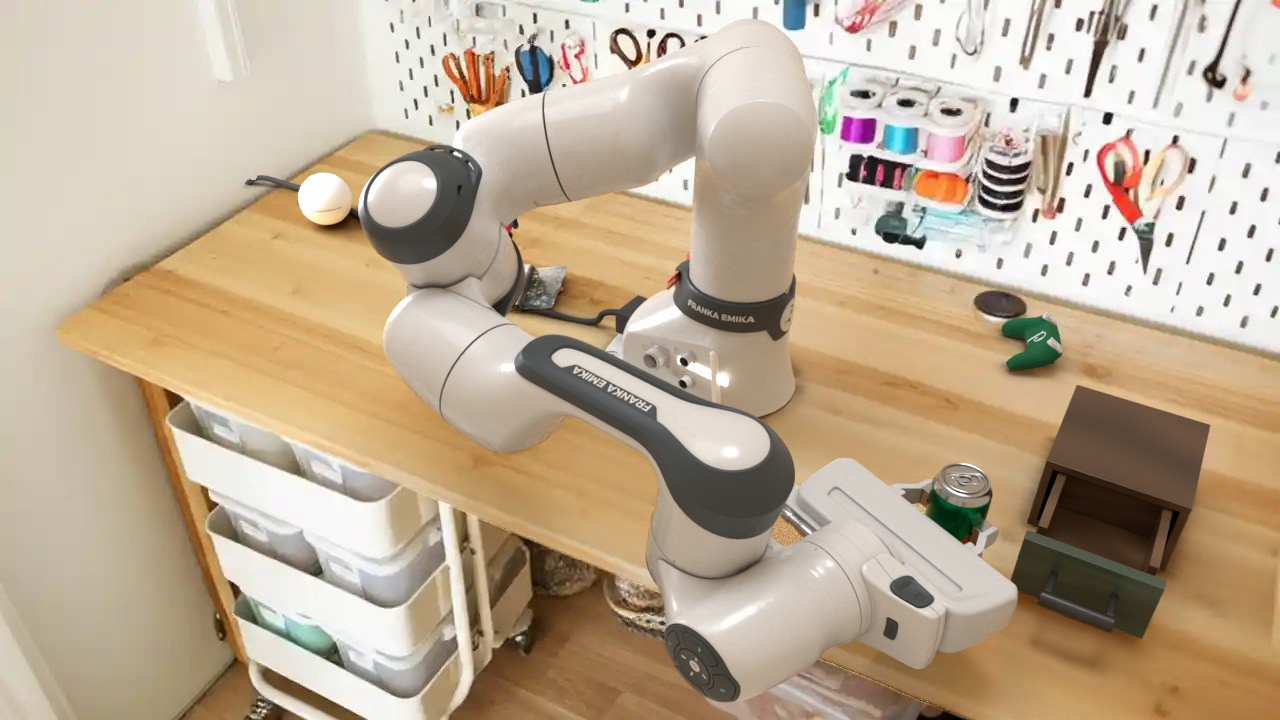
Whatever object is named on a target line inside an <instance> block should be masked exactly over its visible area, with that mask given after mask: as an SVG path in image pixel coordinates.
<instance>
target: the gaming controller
mask: <svg viewBox="0 0 1280 720" xmlns="http://www.w3.org/2000/svg"><path fill="white" fill-rule="evenodd" d="M1001 332H1002V334H1003V335H1004V336H1007V337H1009V338H1020V339H1024V342H1025V347H1026V350H1024V351H1021V352H1019V353H1016V354H1014V355H1013V356H1011V357H1010V358H1008V359H1007V360H1006V361H1005V365H1006V368H1007V369H1008V371H1012V372H1024V371H1032V370H1036V369H1040V368H1043V367H1044V368H1045V367H1047V366H1049V365H1053V364H1055V363H1056V361H1057V360H1059V358H1061V357H1062V356H1063V346H1062V340H1061V334H1060V331H1059V327H1058V323H1057V320H1056V319H1055V318H1054V316H1052V314H1050V313H1049V312H1048V311H1045V312H1044V314H1041V315H1039V316H1035V317H1017V318H1012V319H1009V320H1006V321H1005V322H1004V323H1003V324H1002V326H1001Z"/></svg>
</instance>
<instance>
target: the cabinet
mask: <svg viewBox="0 0 1280 720" xmlns="http://www.w3.org/2000/svg"><path fill="white" fill-rule="evenodd" d="M1210 428H1211V424H1209V423H1205V422H1203V421H1199V420H1196V419H1192V418H1190V417H1186V416H1184V415H1183V416H1182V415H1179V414H1176V413H1173V412H1170V411H1167V410H1163V409H1160V408H1157V407H1153V406H1150V405H1146V404H1143V403H1140V402H1136V401H1134V400H1130V399H1126V398H1123V397H1120V396H1116V395H1113V394H1110V393H1107V392H1103V391H1100V390H1098V389H1097V390H1096V389H1093V388H1090V387H1087V386H1083V385H1080V384H1076V386H1075V388H1074V391H1073V393H1072V396H1071V398H1070V401H1069V403H1068V406H1067V408H1066V410H1065V413H1064V416H1063V418H1062V420H1061V423H1060V426H1059V428H1058V430H1057V433H1056V435H1055V438H1054V440H1053V443H1052V445H1051V448H1050V450H1049V452H1048V456H1047V458H1046V460H1045V464H1044V467H1043V470H1042V473H1041V476H1040V479H1039V483H1038V486H1037V489H1036V492H1035V495H1034V498H1033V501H1032V504H1031V508H1030V511H1029V514H1028V518H1027V519H1026V523H1027V524H1029V525H1032V526H1035V527H1038V525H1039V522H1040V519H1041V517H1042V514H1043V512H1044V509H1045V506H1046V504H1047V501H1048V498H1049V496H1050V493H1051V491H1052V488H1053V485H1054V483H1055V480H1056V478H1057V475H1058V472H1059V471H1060V472H1063V473H1066V474H1069V475H1072V476H1075V477H1077V478H1080V479H1083V480H1086V481H1089V482H1092V483H1095V484H1098V485H1101V486H1104V487H1107V488H1110V489H1113V490H1116V491H1119V492H1122V493H1125V494H1128V495H1131V496H1134V497H1137V498H1140V499H1143V500H1146V501H1149V502H1152V503H1155V504H1158V505H1161V506H1164V507H1167V508H1170V509H1173V513H1172V517H1171V521H1170V526H1169V530H1168V534H1167V538H1166V542H1165V547H1164V551H1163V555H1162V559H1161V563H1160V567H1159V570H1158V571H1160V572H1163V573H1165V571H1166V570H1167V567H1168V565H1169V564H1170V563H1169V562H1170V560H1171V558H1172V556H1173V555H1174V551H1175V549H1176V547H1177V544H1178V542H1179V541H1180V538H1181V536H1182V533H1183V532H1184V528H1185V526H1186V524H1187V522H1188V520H1189V518H1190V515H1191V513H1192V511H1193V508H1194V504H1195V503H1194V502H1195V498H1196V494H1197V489H1198V484H1199V480H1200V475H1201V470H1202V467H1203V462H1204V457H1205V452H1206V448H1207V444H1208V438H1209V434H1210V430H1211V429H1210Z"/></svg>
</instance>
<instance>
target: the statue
mask: <svg viewBox="0 0 1280 720" xmlns="http://www.w3.org/2000/svg"><path fill="white" fill-rule="evenodd" d="M503 226H504V225H503ZM504 227H505V226H504ZM519 227H520V226H519V222H518V218H516V219H515V220H514V221H513V222H511V223H510V224H509V225H508V226H507V227H505V229H506V231H507V233H508V235H509V236H510V237H511V238H512V239H513V237H514V234H513V232H512V229H513V230H517V229H519ZM568 267H569V266H568V265H558V266H557V265H556V266H547V267H546V266H544V267H534V265H533V264H531V263H524V268H525V282H524V286H523V290H522V292H521V295H520V297H519V299H518V300H517V302H516V304H518V305H519V307H518V308H519V309H520V310H521V311H520V313H521V314H526V313H535V312H534V311H531V310H527V309H529V308H530V307H522V306H521V303H520V301H522V302H526V303H529V304H533V305H536V306H539V307H541V308H531V309H543V308H547V309H552V308H553V307H554V304H555V301H557V300H559V299H560V295H559V293H560V292H562V291H563V290H564V286H562V284H563V280H564V278H566V277H567V275H566V273H567V269H568ZM516 304H515V305H514V307H513V308H512V309H511V310H514V309H516V307H517V306H516Z"/></svg>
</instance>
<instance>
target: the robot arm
mask: <svg viewBox="0 0 1280 720" xmlns="http://www.w3.org/2000/svg"><path fill="white" fill-rule="evenodd" d="M818 130H819V117H818V111H817V108H816V104H815V99H814V95H813V91H812V88H811V84H810V81H809V78H808V76H807V70H806V66H805V63H804V59H803V55H802V54H801V51H800V50H799V48H798V46H797V45H796V44H795V42H794V41H793V40H792V39H791V38H790V37H789V36H788V35H787V34H786V32H784V31H782V30H781V29H780V28H779V27H777V26H776V25H775V24H772V23H771V22H768V21H766V20H763V19H759V18H742V19H738V20H734V21H732V22H729V23H728V24H726V25H725V26H723V27H722V28H721V29H719V30H717V32H714V34H712V35H710V36H708V37H705V38H703V39H700V40H698V41H696V42H693V43H690V44H688V45H685V46H683V47H681V48H678V49H676V50H673V51H671V52H668V53H667V54H665V55H662V56H660V57H658V58H655V59H653V60H651V61H648V62H646V63H644V64H641V65H639V66H636V67H634V68H631V69H628V70H625V71H622V72H619V73H616V74H612V75H608V76H603V77H599V78H596V79H595V78H594V79H591V80H587V81H582V82H579V83H575V84H571V85H567V86H563V87H557V88H554V89H550V90H546V91H542V92H538V93H535V94H530V95H527V96H524V97H521V98H518V99H515V100H512V101H509V102H507V103H504V104H501V105H498V106H496V107H493V108H491V109H488V110H486V111H484V112H482V113H481V114H478V115H476V116H474V117H472V118H470V119H468V120H466V121H465V122H463V124H461V125H460V126H459V128H458V129H457V130H456V133H455V135H454V136H453V137H454V138H453V141H452V145H446V144H433V145H428V146H426V147H425V148H423V149H422V150H416V151H412V152H408V153H405V154H403V155H400V156H398V157H396V158H394V159H393V160H391V161H389V162H387V163H386V164H384V165H383V166H382V167H380V168H379V169H378V170H377V171H376V172H375V173H374V174H373V175H372V176H371V177H370V178H369V179H368V181H366V183H365V185H364V186H363V188H362V190H361V193H360V196H359V199H358V203H357V204H358V206H357V209H355V208H354V207H352V206H351V209H350V211H349V213H348V214H351V215H352V216H355V217H356V218H358V219H359V222H360V225H361V228H362V230H363V233H364V234H365V236H366V239H367V240H368V242H369V243H370V245H371V247H372V248H373V250H374V251H375V252H376V253H377V254H378V255H379V256H380V257H381V258H383V259H384V260H385V261H386V263H388V265H389V266H390V268H391V269H392V270H393V271H394V272H395V274H396V275H397V276H398V277H399V278H400V279H401V281H402V280H403V282H404V283H405V284H406V292H405V293H406V294H405V297H404V298H403V299H402V300H401V301H399V303H398V304H396V306H395V307H394V308H393V310H392V311H391V313H390V314H389V316H388V318H387V320H386V322H385V324H384V327H383V332H382V341H381V342H382V351H383V354H384V357H385V359H386V361H387V362H388V364H389V365H390V367H391V368H392V369H393V371H394V372H395V373H396V375H397V377H399V378H400V380H401V381H402V382H403V383H404V384H405V385H406V387H408V389H409V390H411V392H412V393H413V394H414V395H415V396H417V398H418V399H419V400H420V401H421V402H422V403H423V404H424V405H426V406H427V407H428V408H429V409H430V410H431V411H432V412H433V413H435V415H437V416H438V417H439V418H441V420H443V421H444V422H445V423H447V424H448V425H449V426H451V427H452V428H453V429H454V430H456V431H457V432H458V433H459V434H461V435H462V436H464V437H465V438H466V439H468V440H469V441H471V442H473V444H475V445H478V446H479V447H481V448H483V449H486V450H487V451H490V452H492V453H495V454H499V455H511V454H517V453H522V452H526V451H529V450H532V449H533V448H535V447H538V446H539V445H541V444H543V443H544V442H545V441H547V440H548V439H549V438H551V437H552V436H554V434H555V433H556V432H558V431H559V430H560V429H561V428H563V426H564V425H565V424H566V423H567V422H568V421H569V419H570V418H574V419H577V420H581V421H582V422H584V423H586V424H588V425H590V426H592V427H594V428H595V429H597V430H599V431H601V432H602V433H604V434H605V435H608V436H610V437H612V438H613V439H615V440H617V441H618V442H620V443H623V444H624V445H626V446H628V447H629V448H631V449H633V450H634V451H637V452H638V453H640V454H641V455H643V456H644V458H646V459H647V461H648V462H649V463H650V466H651V467H652V469H653V471H654V473H655V477H656V480H657V484H658V486H657V492H656V495H655V502H654V507H653V511H652V513H651V516H650V517H651V518H650V520H649V521H650V522H649V527H648V532H647V538H646V545H645V563H646V567H647V570H648V573H649V575H650V577H651V579H652V581H653V582H654V584H655V585H656V586H657V588H658V590H659V594H660V597H661V600H662V604H663V609H664V617H665V619H664V620H665V625H664V626H665V627H664V633H663V640H664V645H665V649H666V653H667V654H668V657H669V659H670V661H671V663H672V665H673V666H674V669H676V672H677V673H678V674H679V675H680V676H681V678H682V679H683V680H684V681H685V682H686V683H687V685H689V686H690V687H691V688H692V689H693V690H695V691H696V692H697V693H698V694H701V695H702V696H703V697H705V698H707V699H708V700H711V701H714V702H718V703H723V704H724V703H727V704H728V703H729V704H730V703H737V702H742V701H746V700H749V699H751V698H754V697H757V696H759V695H761V694H763V693H766V692H767V691H770V690H772V689H775V688H776V687H778V686H779V685H781V684H783V683H786V682H787V681H789V680H791V679H793V678H794V677H796V676H798V675H799V674H801V673H803V672H805V671H806V670H808V669H809V668H811V667H813V665H815V664H816V663H817V662H818V661H819V659H821V657H822V655H824V653H826V652H827V651H828V650H830V649H833V648H835V647H839V646H844V645H847V644H849V643H851V642H852V641H855V642H857V643H860V644H862V645H865V646H867V647H870V648H872V649H875V650H876V651H879V652H881V653H883V654H885V655H887V656H889V657H891V658H892V659H894V660H896V661H898V662H899V663H901V664H903V665H904V666H907V667H909V668H910V669H911V668H912V669H913V670H924V669H925V668H927V667H928V666H929V665H930V664H932V662H933V660H934V659H935V657H936V654H937V653H938V652H940V653H944V654H953V653H958V652H962V651H965V650H967V649H969V648H971V647H974V646H975V645H976V646H977V645H978V644H980V643H982V642H983V641H985V640H987V639H989V638H991V637H993V636H994V635H996V634H997V633H999V632H1001V631H1002V630H1003V629H1004V628H1006V627H1007V626H1009V624H1010V623H1011V621H1012V619H1013V617H1014V615H1015V612H1016V609H1017V606H1018V602H1019V601H1018V599H1019V591H1018V589H1017V587H1016V585H1015V584H1014V583H1013V582H1011V581H1010V580H1011V579H1009V578H1008V577H1006V576H1005V575H1003V574H1002V573H1001V572H1000V571H998V570H997V569H996V568H995V567H993V566H992V565H991V564H989V562H987V561H985V559H983V558H982V557H983V553H984V551H985V550H987V548H990V547H991V546H993V544H995V543H996V541H997V540H998V536H999V533H1000V529H999V528H997V527H996V526H995V525H993V524H992V523H990V522H989V521H987V519H986V520H984V521H983V522H981V523H979V524H977V525H974V526H973V528H972V531H971V532H972V535H970V538H969V541H970V542H968V543H967V544H965V545H964V544H962V543H961V542H960V541H958V540H957V539H956V538H955V537H953V536H952V535H951V534H949V533H948V532H947V531H946V530H944V529H943V528H942V527H940V526H939V525H938V524H937V523H935V522H934V521H933V520H931V519H930V518H929V517H928V516H926V515H925V512H922V510H920V509H919V508H918V507H916V506H915V505H916V504H920V505H921V506H923V507H924V508H926V506H927V502H928V498H929V493H930V489H931V485H932V481H933V479H932V478H930V477H929V478H926V479H925V480H922V481H921V482H919V483H899V482H897V483H895V482H894V483H893V484H892V485H890V486H889V485H888V484H886V483H885V482H884V481H883V480H881V479H880V478H879V477H877V476H876V475H875V474H873V472H871V471H870V470H869V469H867V468H866V467H865V466H864V465H862V464H861V463H860V462H859V461H858V460H856V459H854V458H852V457H836V458H835V459H833V460H831V461H830V462H828V463H827V464H825V465H822V467H820V468H819V469H818V470H816V471H815V472H814V473H812V474H811V475H810V476H808V477H807V478H805V480H804V481H803V482H802V483H801V484H798V485H795V482H796V469H795V463H794V459H793V456H792V453H791V451H790V449H789V448H788V446H787V444H786V443H785V442H784V439H782V437H781V436H780V435H779V434H778V432H776V430H774V429H773V428H772V426H770V425H769V424H768V423H767V422H765V421H764V420H762V419H761V418H760V417H763V416H768V415H769V414H772V413H774V412H777V411H778V410H780V409H782V407H784V406H785V405H786V404H787V403H788V402H789V401H790V400H791V399H792V397H793V395H794V394H795V391H796V378H795V375H794V374H795V373H794V370H793V365H792V357H791V347H790V346H791V345H790V344H791V343H790V329H791V327H792V323H793V319H794V317H795V308H796V289H797V277H796V274H795V272H794V271H795V261H796V253H797V251H796V250H797V243H798V236H799V235H798V234H799V226H800V217H801V212H802V208H803V203H804V200H805V196H806V192H807V188H808V183H809V180H810V176H811V170H812V166H813V160H814V154H815V149H816V144H817V137H818ZM693 158H694V174H693V175H694V177H693V189H692V191H693V192H692V204H691V219H690V220H691V223H690V243H689V244H690V245H689V251H688V252H687V253H686V256H685V259H686V260H683V261H682V262H680V263H679V264H678V265H677V266H676V267H675V271H674V273H673V274H671V275H670V276H669V277H668V279H667V280H666V283H667V286H666V288H665V289H663V290H660V291H658V292H656V293H655V294H653V295H651V296H650V297H649V298H647V297H645V296H642V295H640V294H638V295H636V296H635V297H634V298H632V299H631V300H630V301H628V302H627V303H625V304H624V305H622V307H619V309H618V308H606V309H603V310H600V311H599V312H598V314H597V315H596V317H592V318H582V317H576V316H571V315H568V314H566V313H563V312H559V311H556V310H553V309H551V308H548V309H547V308H543V309H531V308H541V307H539V306H536V305H533V304H529V303H526V302H522V301H520V303H521V306H522V307H530V308H529V309H527V310H531V311H534V312H533V313H538V314H541V315H544V316H545V315H546V316H548V317H550V318H554V319H557V320H559V321H563V322H568V323H574V324H580V325H586V326H594V325H598V324H601V322H602V321H603V320H604V319H605V317H608V316H609V317H610V316H613V317H615V333H618V334H617V335H616V336H615V337H614V338H613V339H612V341H611V342H610V343H609V344H608V346H606V349H604V350H603V349H601V348H599V347H597V346H596V345H593V344H590V343H589V342H586V341H584V340H580V339H579V338H575V337H572V336H569V335H563V334H558V333H557V334H555V333H554V334H553V333H550V334H544V335H540V336H535V335H533V334H531V333H530V332H528V331H526V330H525V329H522V327H520V326H518V325H517V324H515V323H514V322H513V321H511V320H509V319H508V318H507V317H506V316H507V315H508V314H509V313H510V312H511V311H512V310H513V309H512V308H513V307H514V305H515V304H516V302H517V300H518V299H519V297H520V295H521V292H522V290H523V286H524V282H525V268H524V264H525V262H524V259H523V256H522V254H521V251H520V249H519V247H518V245H517V243H516V242H515V241H514V239H513V238H511V237H510V236H509V235H508V233H507V231H506V229H505V227H507V226H508V225H509V224H510V223H511V222H513V221H514V220H515V219H516V218H517V219H518V218H520V217H521V216H523V215H524V214H526V213H528V212H531V211H533V210H535V209H538V208H545V207H551V206H552V207H553V206H558V205H562V204H567V203H572V202H573V203H574V202H578V201H582V200H587V199H593V198H596V197H601V196H606V195H610V194H615V193H620V192H624V191H628V190H634V189H639V188H643V187H646V186H648V185H651V184H652V183H653V182H655V181H657V180H658V179H659V178H660V177H661V176H663V175H664V174H665V173H666V172H668V171H670V170H671V169H673V168H675V167H676V166H679V165H680V164H683V163H684V162H687V161H689V160H691V159H693ZM256 176H257V175H256ZM248 179H249V178H248ZM248 179H246V181H245V182H244V185H247V186H250V185H252V184H253V183H255V182H258V181H259V182H260V181H263V182H267V183H268V182H269V183H272V184H275V185H278V186H282V187H285V188H288V189H291V190H295V191H299V190H300V188H301V185H302V184H297V183H294V182H289V181H287V180H283V179H280V178H278V177H273V176H269V175H264V174H258V176H257V178H256V180H251V179H249V180H248ZM503 225H504V226H505V227H504V226H503ZM516 307H517V308H520V307H519V305H518V304H516ZM779 517H780V518H781V519H782V521H784V523H787V524H788V525H790V526H791V527H792V528H793V529H794V530H795V531H796V532H797V533H798V535H800V536H801V538H800V539H798V540H797V541H795V542H793V543H791V544H787V545H784V544H780V543H778V542H777V541H776V540H775V539H774V537H773V536H772V533H773V530H774V526H775V524H776V522H777V520H778V518H779ZM974 545H975V546H974Z"/></svg>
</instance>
